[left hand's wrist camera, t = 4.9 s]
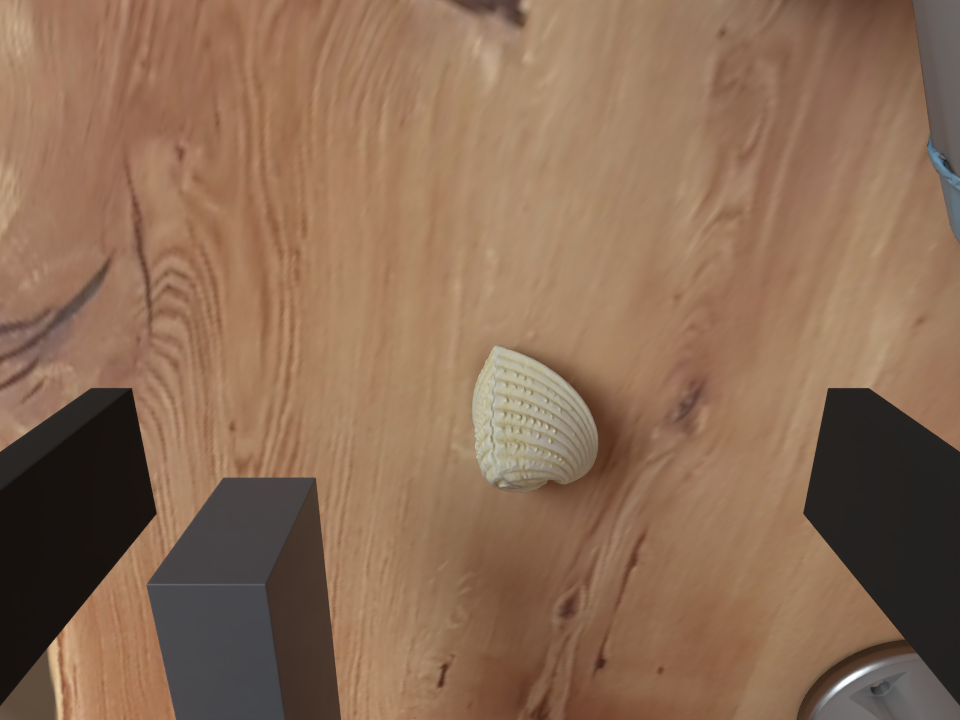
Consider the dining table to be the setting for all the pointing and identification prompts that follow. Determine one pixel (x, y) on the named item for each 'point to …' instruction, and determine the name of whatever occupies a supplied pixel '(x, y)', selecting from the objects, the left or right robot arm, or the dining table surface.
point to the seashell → (530, 424)
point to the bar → (248, 607)
